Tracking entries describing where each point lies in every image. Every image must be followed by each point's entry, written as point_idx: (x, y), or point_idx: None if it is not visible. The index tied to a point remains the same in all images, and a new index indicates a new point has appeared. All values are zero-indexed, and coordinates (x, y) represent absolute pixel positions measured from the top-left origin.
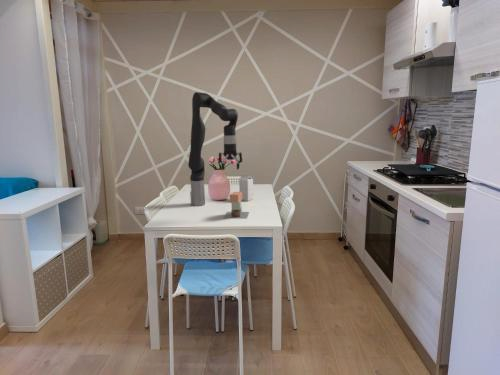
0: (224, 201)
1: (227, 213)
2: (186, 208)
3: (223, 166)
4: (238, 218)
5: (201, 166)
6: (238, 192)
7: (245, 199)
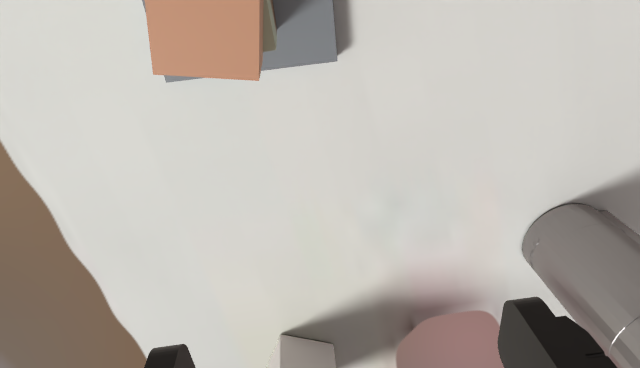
0: (414, 310)
1: (321, 10)
2: (634, 144)
3: (570, 359)
4: None
5: None
6: (187, 37)
7: (296, 343)
